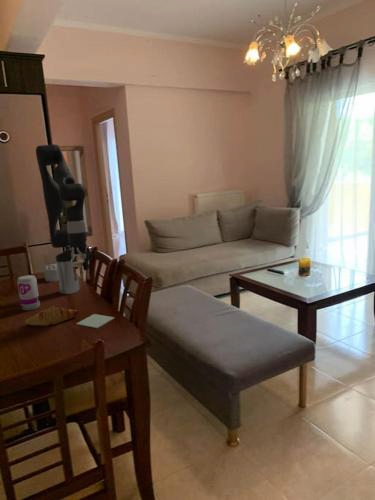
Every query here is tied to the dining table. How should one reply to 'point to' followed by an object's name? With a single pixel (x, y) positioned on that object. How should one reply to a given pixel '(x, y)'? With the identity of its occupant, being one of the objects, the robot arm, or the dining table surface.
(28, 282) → the supplement can
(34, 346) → the dining table surface
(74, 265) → the stool
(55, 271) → the egg container
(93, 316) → the mat
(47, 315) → the croissant
